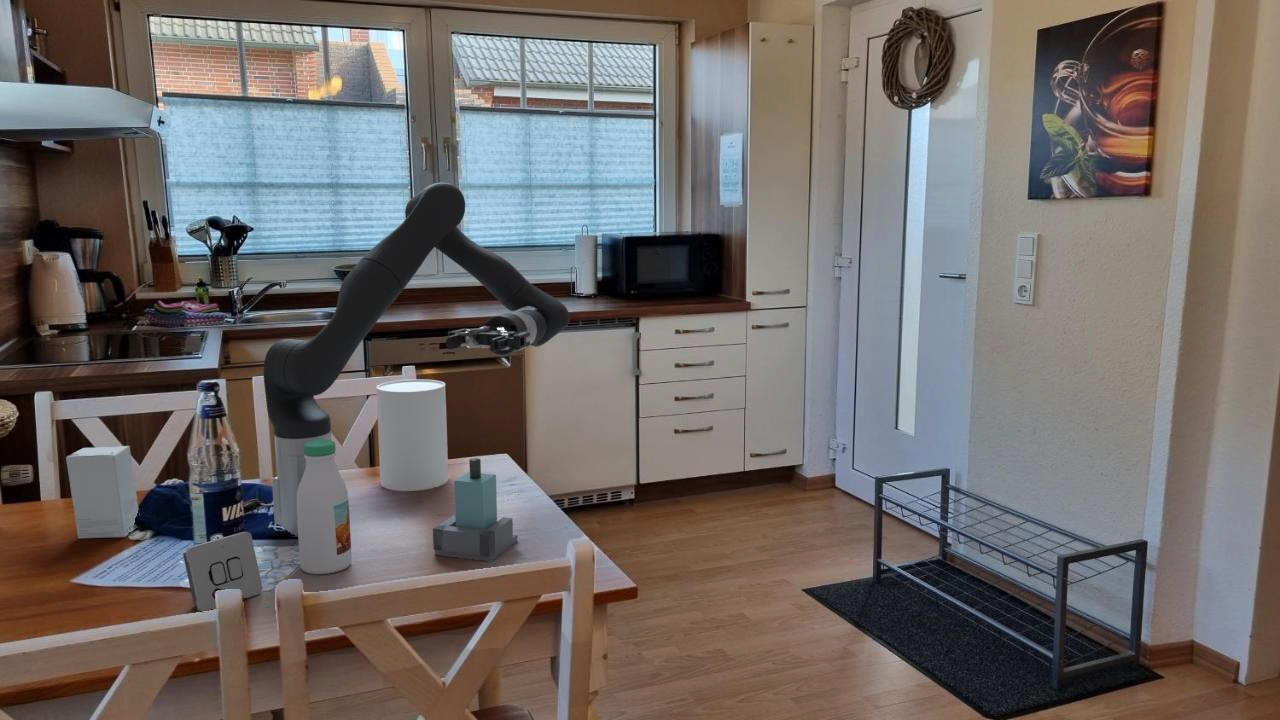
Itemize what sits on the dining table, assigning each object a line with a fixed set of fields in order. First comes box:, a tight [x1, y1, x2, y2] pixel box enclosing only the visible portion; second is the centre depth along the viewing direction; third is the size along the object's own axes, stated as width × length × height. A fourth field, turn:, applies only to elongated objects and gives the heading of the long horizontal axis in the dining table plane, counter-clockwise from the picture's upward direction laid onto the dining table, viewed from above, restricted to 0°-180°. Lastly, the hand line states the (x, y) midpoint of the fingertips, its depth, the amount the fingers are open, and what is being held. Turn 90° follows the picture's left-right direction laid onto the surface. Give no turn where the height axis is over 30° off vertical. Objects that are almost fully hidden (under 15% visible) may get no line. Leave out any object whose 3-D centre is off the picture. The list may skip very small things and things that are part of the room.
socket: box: [432, 514, 518, 563], centre depth 155 cm, size 10×10×4 cm
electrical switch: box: [182, 531, 263, 612], centre depth 135 cm, size 9×5×9 cm, turn 141°
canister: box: [375, 378, 449, 492], centre depth 191 cm, size 14×14×20 cm
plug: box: [453, 457, 498, 530], centre depth 154 cm, size 5×5×14 cm
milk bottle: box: [297, 439, 353, 575], centre depth 146 cm, size 8×8×20 cm
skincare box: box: [65, 445, 140, 539], centre depth 161 cm, size 8×6×15 cm
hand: (470, 344), depth 164 cm, fingers open, 8 cm apart
